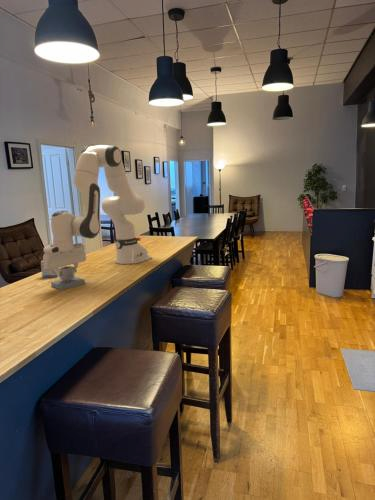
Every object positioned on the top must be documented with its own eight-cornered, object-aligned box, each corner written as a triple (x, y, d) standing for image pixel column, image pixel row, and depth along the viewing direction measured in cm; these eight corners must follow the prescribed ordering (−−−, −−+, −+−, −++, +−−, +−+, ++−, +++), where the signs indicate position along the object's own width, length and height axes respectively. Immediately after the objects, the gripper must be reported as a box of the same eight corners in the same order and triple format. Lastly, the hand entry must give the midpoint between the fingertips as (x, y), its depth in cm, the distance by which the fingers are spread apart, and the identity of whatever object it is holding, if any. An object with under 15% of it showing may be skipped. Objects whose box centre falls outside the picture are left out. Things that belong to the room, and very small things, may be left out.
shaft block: (74, 280, 175) (72, 265, 173) (85, 283, 168) (83, 268, 167) (51, 286, 166) (49, 271, 165) (61, 290, 160) (59, 274, 158)
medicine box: (42, 278, 181) (40, 262, 179) (43, 276, 185) (41, 260, 183) (58, 276, 183) (56, 260, 181) (59, 274, 187) (57, 258, 185)
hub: (70, 275, 171) (69, 265, 170) (77, 277, 167) (75, 267, 166) (58, 278, 167) (56, 268, 165) (64, 280, 162) (63, 270, 161)
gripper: (80, 241, 173) (83, 268, 176) (39, 249, 158) (43, 278, 161) (87, 242, 169) (89, 270, 171) (46, 250, 154) (49, 280, 157)
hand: (67, 274), depth 166 cm, fingers closed on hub, 6 cm apart
